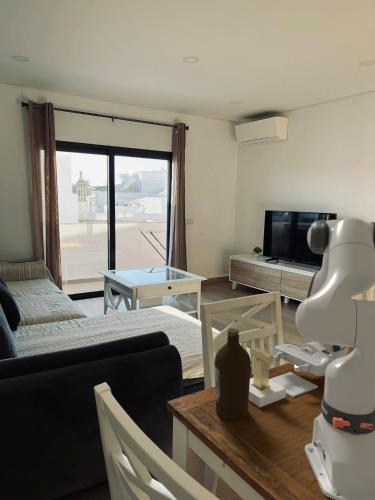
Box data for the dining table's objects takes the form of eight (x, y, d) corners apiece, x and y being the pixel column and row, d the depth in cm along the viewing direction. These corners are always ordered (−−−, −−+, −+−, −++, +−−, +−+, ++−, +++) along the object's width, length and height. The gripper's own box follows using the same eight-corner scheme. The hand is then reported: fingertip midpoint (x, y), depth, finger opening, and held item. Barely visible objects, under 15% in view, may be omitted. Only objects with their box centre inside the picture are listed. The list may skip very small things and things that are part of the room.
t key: (273, 398, 114) (274, 355, 112) (265, 401, 112) (266, 357, 110) (255, 387, 120) (257, 346, 119) (248, 390, 119) (249, 348, 117)
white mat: (317, 387, 121) (317, 385, 121) (292, 397, 114) (292, 395, 114) (290, 373, 131) (290, 372, 131) (265, 381, 124) (265, 380, 124)
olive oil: (248, 403, 111) (250, 324, 108) (251, 423, 101) (253, 337, 98) (214, 401, 112) (215, 323, 109) (213, 421, 102) (214, 335, 99)
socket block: (285, 397, 114) (285, 388, 114) (259, 407, 109) (259, 398, 108) (261, 383, 124) (261, 374, 123) (236, 391, 118) (236, 382, 118)
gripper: (290, 337, 136) (263, 344, 129) (337, 356, 119) (309, 366, 112) (289, 353, 137) (262, 361, 130) (336, 374, 120) (308, 385, 112)
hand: (284, 363), depth 121 cm, fingers open, 8 cm apart
